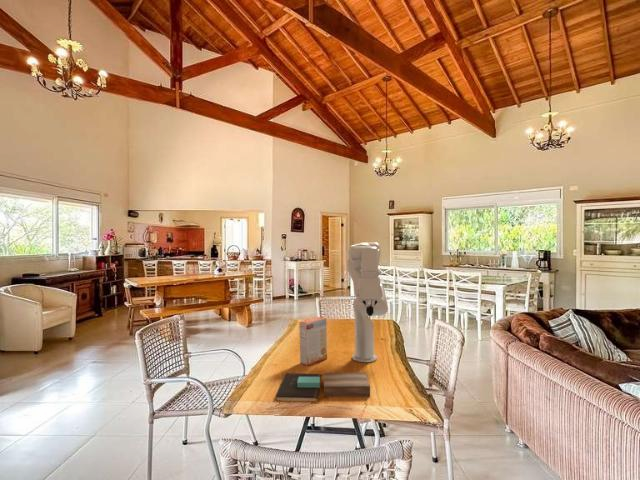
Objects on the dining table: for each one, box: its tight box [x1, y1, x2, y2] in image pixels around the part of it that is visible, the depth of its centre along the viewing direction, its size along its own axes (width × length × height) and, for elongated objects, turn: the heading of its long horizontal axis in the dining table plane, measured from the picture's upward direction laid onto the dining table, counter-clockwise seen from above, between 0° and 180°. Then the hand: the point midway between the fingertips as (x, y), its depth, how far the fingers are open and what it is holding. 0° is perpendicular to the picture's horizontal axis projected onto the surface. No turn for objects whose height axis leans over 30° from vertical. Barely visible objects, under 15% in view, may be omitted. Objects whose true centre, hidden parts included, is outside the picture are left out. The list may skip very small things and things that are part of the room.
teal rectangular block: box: [297, 377, 321, 389], centre depth 145 cm, size 6×9×2 cm, turn 88°
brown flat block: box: [323, 371, 371, 398], centre depth 145 cm, size 14×18×4 cm
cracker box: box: [298, 316, 328, 366], centre depth 178 cm, size 14×6×21 cm, turn 135°
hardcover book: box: [275, 372, 322, 402], centre depth 146 cm, size 16×23×2 cm
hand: (369, 315), depth 158 cm, fingers closed
